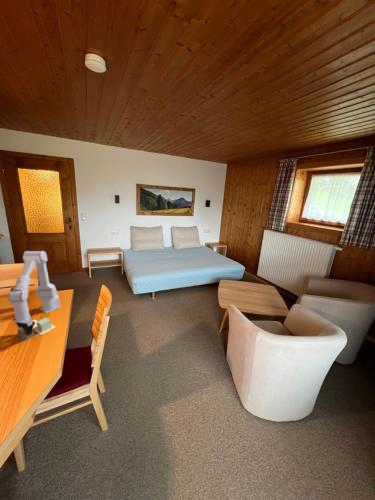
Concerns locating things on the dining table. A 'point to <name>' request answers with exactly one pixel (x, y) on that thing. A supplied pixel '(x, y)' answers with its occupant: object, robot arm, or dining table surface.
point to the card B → (44, 331)
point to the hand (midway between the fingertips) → (25, 331)
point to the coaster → (26, 338)
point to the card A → (35, 323)
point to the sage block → (44, 324)
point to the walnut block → (23, 333)
